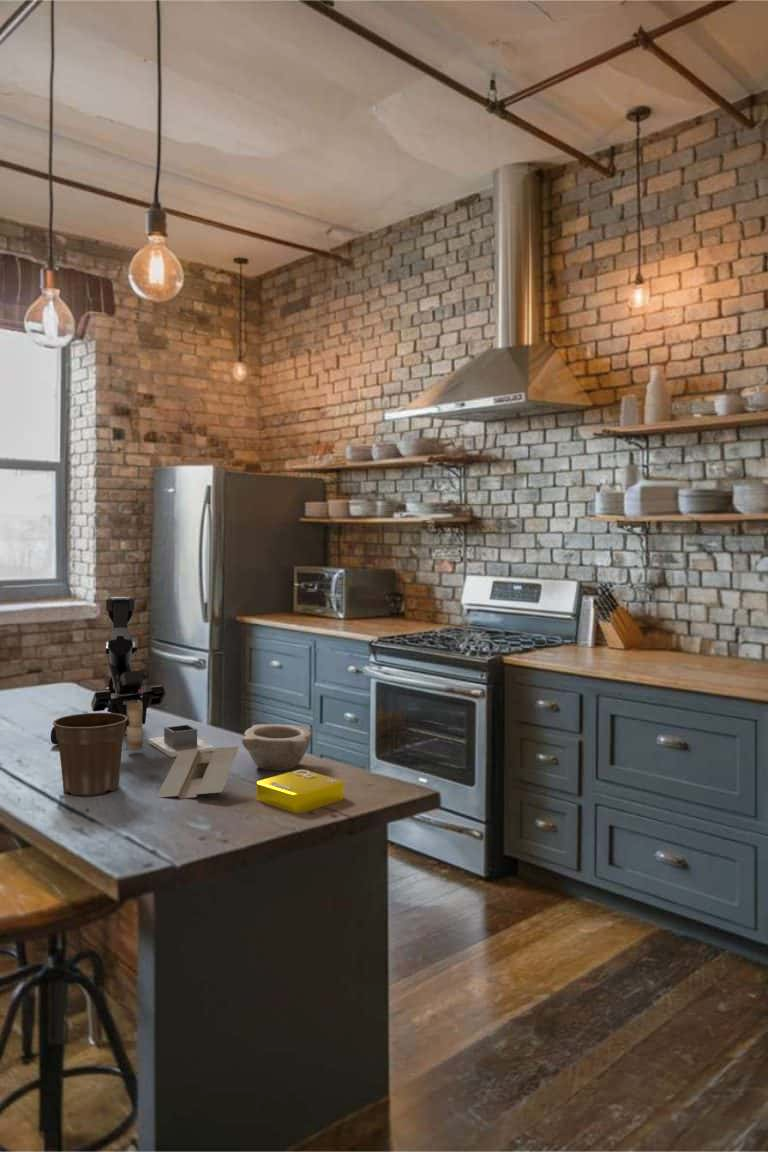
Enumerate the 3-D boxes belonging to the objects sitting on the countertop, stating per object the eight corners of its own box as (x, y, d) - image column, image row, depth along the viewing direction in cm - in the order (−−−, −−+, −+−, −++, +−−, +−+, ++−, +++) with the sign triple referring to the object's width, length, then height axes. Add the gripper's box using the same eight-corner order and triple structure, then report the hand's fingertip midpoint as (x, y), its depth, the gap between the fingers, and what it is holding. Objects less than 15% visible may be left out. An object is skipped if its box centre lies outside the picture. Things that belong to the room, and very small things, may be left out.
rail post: (129, 745, 232) (129, 701, 231) (144, 746, 231) (144, 702, 231) (124, 749, 228) (124, 704, 227) (139, 750, 227) (139, 705, 227)
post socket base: (148, 743, 241) (148, 724, 241) (189, 737, 248) (189, 719, 247) (171, 757, 226) (171, 737, 226) (214, 751, 233) (214, 732, 233)
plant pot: (53, 782, 203) (53, 714, 202) (125, 775, 209) (125, 709, 208) (53, 802, 188) (52, 729, 187) (130, 795, 194) (130, 724, 193)
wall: (237, 813, 195) (250, 757, 206) (223, 792, 189) (236, 735, 200) (171, 818, 199) (187, 763, 209) (155, 797, 193) (172, 742, 204)
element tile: (252, 800, 193) (252, 779, 192) (301, 786, 204) (301, 766, 204) (298, 816, 183) (298, 793, 183) (347, 800, 194) (347, 779, 194)
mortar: (305, 777, 210) (305, 739, 210) (236, 774, 211) (236, 737, 211) (315, 759, 227) (316, 724, 226) (252, 756, 228) (252, 722, 228)
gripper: (94, 661, 226) (106, 711, 218) (163, 656, 237) (178, 703, 228) (85, 686, 233) (98, 735, 225) (153, 680, 244) (167, 726, 235)
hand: (136, 724), depth 228 cm, fingers closed on rail post, 4 cm apart
